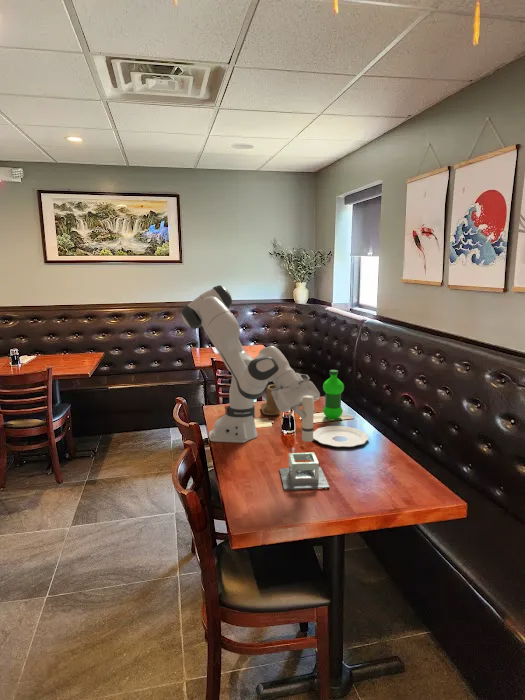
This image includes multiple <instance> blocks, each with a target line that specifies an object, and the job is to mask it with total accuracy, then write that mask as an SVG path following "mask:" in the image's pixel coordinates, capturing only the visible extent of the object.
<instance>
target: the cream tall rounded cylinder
mask: <svg viewBox="0 0 525 700" xmlns="http://www.w3.org/2000/svg"><path fill="white" fill-rule="evenodd" d="M314 404H315V402H314V397H313V396H309V395H307V396H303V397H302V406H301V410H302V411H304V412H305V413H306V416H305V417H304V418H301V441H303V442H305V443H307V442H308V443H309V442H313V441H314V439H313V432H314V414H313V408H314V409H315V405H314Z"/></svg>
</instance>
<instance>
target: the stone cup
mask: <svg viewBox="0 0 525 700" xmlns="http://www.w3.org/2000/svg"><path fill="white" fill-rule="evenodd" d="M273 388H277V387H276V386H275V384H268V385H267V386H266V392H265V399H266V402H262V403H261V405H260V408H261V411H262V413H263V415H266V416H279V415H280V414H281V411H280V410H279V409H278V407H277V405H276V403H275V401H274V398H273V396H272V394H271V391H272V389H273Z"/></svg>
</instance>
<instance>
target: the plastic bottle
mask: <svg viewBox="0 0 525 700" xmlns="http://www.w3.org/2000/svg"><path fill="white" fill-rule="evenodd" d="M329 375H330V377H329V378H328V379H326V380H325V381H324V382H323V384H322V390H323V392H324V395H325V397H324V398H325V399H324V407H323V410H322V412H323V414H324V416H325V417H326V418H327V419H328V418H329V419H328V420H330V419H336V420H338V419H339V418H341V416H342V414H344V413H343V412H344V411H343V408H342V404H341V403H342V393H343V392H344V390H345V385H344V382H342V381H341V380H340V379H339V378H338V375H339V370H337V369H330V370H329Z"/></svg>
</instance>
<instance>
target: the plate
mask: <svg viewBox="0 0 525 700" xmlns="http://www.w3.org/2000/svg"><path fill="white" fill-rule="evenodd" d="M335 437H342V438H345V439H346V440H344V441H337V440H335V439H333V438H335ZM369 439H370V438H369V436H368V434H367V433H366V432H365V431H362V430H360V429H359V428H356V427H349V426H345V425H327V426H324V427H323V426H322V427H318V428H316V429H315V430H313V441H316V442H318V443H319V444H321V445H325V446H329V447H334V448H354V447H358V446H362V445H364V444H366V442H368V441H369Z"/></svg>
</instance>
